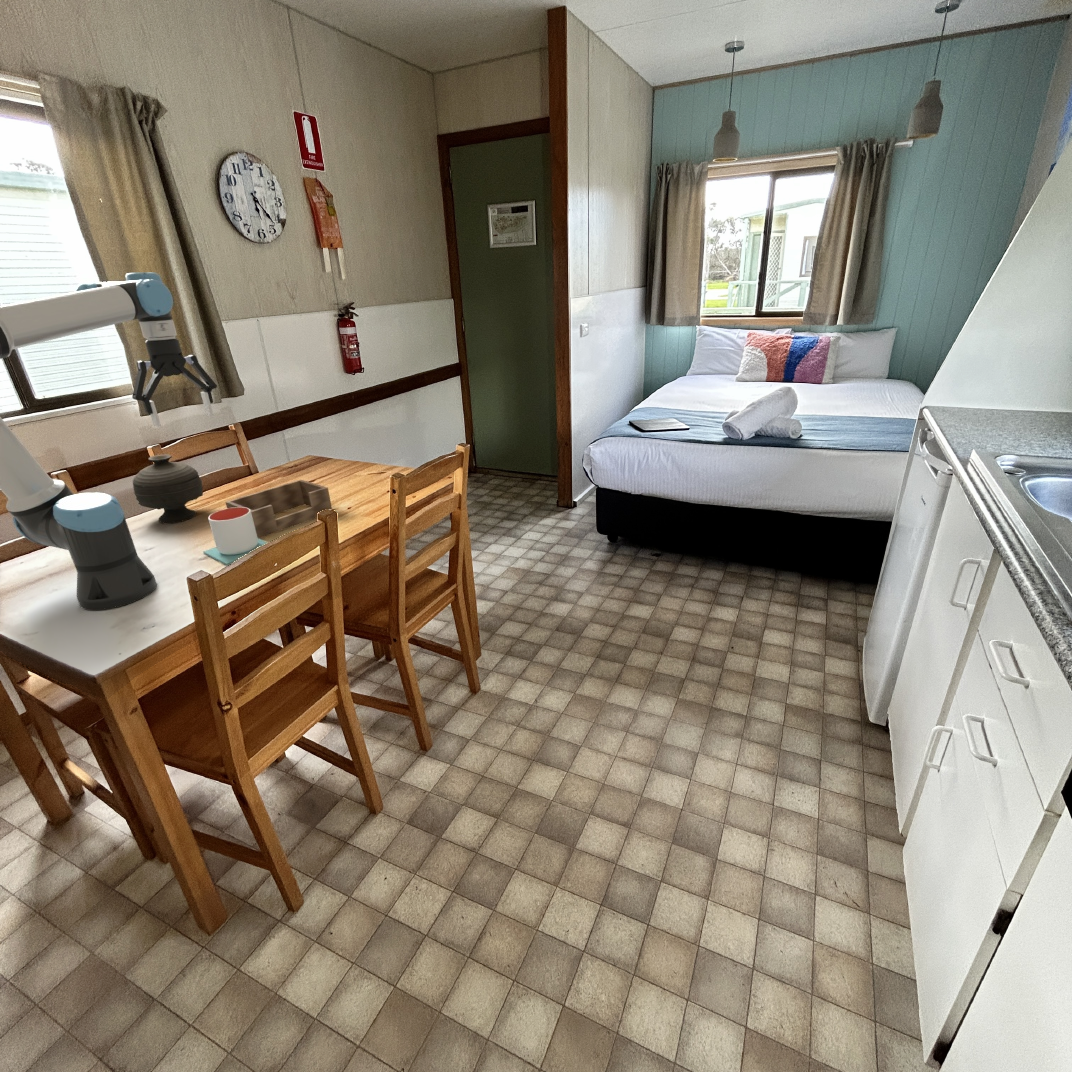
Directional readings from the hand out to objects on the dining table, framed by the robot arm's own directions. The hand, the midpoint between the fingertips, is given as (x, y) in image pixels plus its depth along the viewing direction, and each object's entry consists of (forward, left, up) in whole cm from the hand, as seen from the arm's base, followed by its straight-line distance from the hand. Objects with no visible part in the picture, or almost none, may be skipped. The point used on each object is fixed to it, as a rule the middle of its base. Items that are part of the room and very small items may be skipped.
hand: (184, 420), depth 158 cm
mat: (-4, -22, -32) cm, 39 cm away
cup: (-4, -22, -31) cm, 38 cm away
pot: (-2, +20, -32) cm, 38 cm away
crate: (+15, -11, -32) cm, 37 cm away
